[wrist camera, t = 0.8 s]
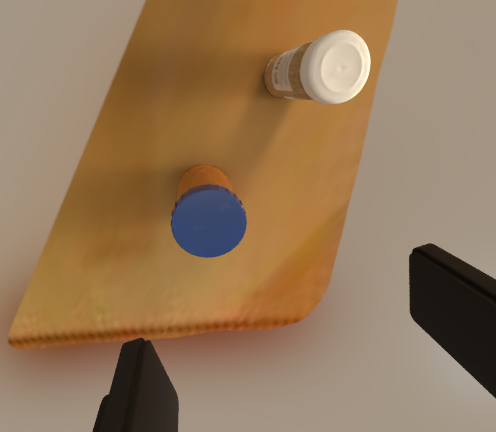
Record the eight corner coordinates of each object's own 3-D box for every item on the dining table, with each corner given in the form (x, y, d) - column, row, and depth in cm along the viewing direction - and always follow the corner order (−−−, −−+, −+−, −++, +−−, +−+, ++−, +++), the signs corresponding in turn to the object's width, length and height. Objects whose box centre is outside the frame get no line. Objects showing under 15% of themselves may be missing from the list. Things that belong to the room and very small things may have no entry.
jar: (180, 161, 33) (176, 186, 25) (234, 168, 35) (248, 193, 26) (176, 212, 36) (171, 251, 27) (227, 216, 37) (238, 254, 29)
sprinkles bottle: (289, 105, 33) (348, 116, 21) (255, 85, 31) (296, 83, 19) (310, 66, 32) (385, 53, 20) (276, 42, 30) (334, 12, 18)
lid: (174, 179, 26) (173, 185, 24) (249, 187, 27) (253, 193, 26) (169, 247, 28) (168, 256, 27) (238, 250, 30) (241, 259, 28)
